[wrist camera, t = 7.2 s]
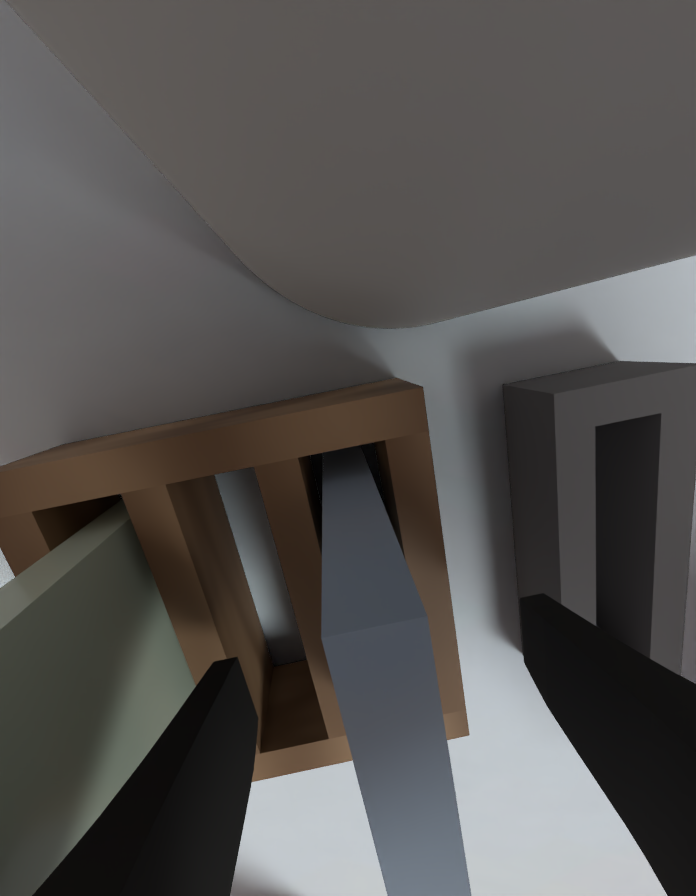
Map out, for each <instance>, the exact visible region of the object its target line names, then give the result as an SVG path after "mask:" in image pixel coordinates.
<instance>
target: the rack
mask: <svg viewBox="0 0 696 896" xmlns="http://www.w3.org/2000/svg"><path fill="white" fill-rule="evenodd" d="M373 442H374V447H375V452H376V458H377V464H378V469H379V475H380V481H381V486H382V492H383V498H384V503H385V509H386V512H387V515H388V517H389V520H390V522H391V525H392V527H393V530H394V532H395V535H396V537H397V540H398V543H399V545H400V548H401V550H402V553H403V555H404V558H405V560H406V563H407V565H408V568H409V570H410V573H411V576H412V578H413V581H414V583H415V586H416V588H417V591H418V593H419V596H420V598H421V601H422V604H423V606H424V609H425V611H426V614H427V617H428V623H429V629H430V636H431V642H432V648H433V655H434V661H435V667H436V674H437V680H438V687H439V693H440V699H441V706H442V712H443V718H444V725H445V731H446V738H447V740H450V739H454V738H459V737H463V736H468V735H469V729H468V721H467V714H466V706H465V699H464V691H463V684H462V676H461V669H460V661H459V654H458V646H457V639H456V631H455V624H454V616H453V609H452V601H451V594H450V586H449V579H448V571H447V564H446V556H445V549H444V541H443V534H442V526H441V519H440V511H439V504H438V496H437V489H436V481H435V474H434V466H433V459H432V451H431V444H430V437H429V429H428V422H427V414H426V407H425V399H424V392H423V387H421V386H419V385H416V384H413V383H410V382H407V381H404V380H401V379H399V378H393V379H388V380H383V381H378V382H373V383H368V384H363V385H358V386H353V387H348V388H343V389H338V390H333V391H328V392H323V393H318V394H313V395H308V396H303V397H298V398H293V399H288V400H283V401H278V402H273V403H268V404H263V405H258V406H253V407H248V408H243V409H238V410H233V411H228V412H223V413H218V414H213V415H208V416H203V417H198V418H193V419H188V420H183V421H178V422H173V423H168V424H163V425H158V426H153V427H148V428H143V429H138V430H133V431H128V432H123V433H118V434H113V435H108V436H103V437H98V438H93V439H88V440H83V441H78V442H73V443H68V444H63V445H60V446H57V447H54V448H51V449H48V450H46V451H43V452H40V453H37V454H34V455H32V456H29V457H26V458H23V459H20V460H17V461H15V462H12V463H9V464H6V465H3V466H0V548H1V550H2V552H3V554H4V556H5V558H6V560H7V562H8V564H9V566H10V568H11V570H12V572H13V574H14V576H15V577H16V576H18V575H19V574H20V573H22V572H23V571H25V570H26V569H27V568H29V567H30V566H31V565H33V564H34V563H35V562H37V561H38V560H40V559H41V558H42V557H44V556H45V555H46V554H48V553H49V552H51V551H52V550H53V549H55V548H56V547H57V546H59V545H60V544H61V543H63V542H64V541H66V540H67V539H68V538H70V537H71V536H72V535H74V534H75V533H77V532H78V531H79V530H81V529H82V528H83V527H85V526H86V525H87V524H89V523H90V522H92V521H93V520H94V519H96V518H97V517H98V516H100V515H101V514H103V513H104V512H105V511H107V510H108V509H109V508H111V507H112V506H114V505H115V504H116V503H118V502H119V501H120V499H119V497H118V494H121V495H122V498H123V501H124V503H125V506H126V508H127V511H128V513H129V516H130V518H131V521H132V524H133V526H134V529H135V531H136V534H137V536H138V539H139V541H140V544H141V547H142V549H143V552H144V554H145V557H146V559H147V562H148V564H149V567H150V570H151V572H152V575H153V577H154V580H155V582H156V585H157V587H158V590H159V593H160V595H161V598H162V600H163V603H164V605H165V608H166V610H167V613H168V616H169V618H170V621H171V623H172V626H173V628H174V631H175V633H176V636H177V639H178V641H179V644H180V646H181V649H182V651H183V654H184V656H185V659H186V662H187V664H188V667H189V669H190V672H191V674H192V677H193V679H194V682H195V685H197V684H198V683H199V681H200V680H201V678H202V677H203V676H204V674H205V673H206V671H207V670H208V669H209V667H210V666H211V664H212V663H213V662H214V661H219V660H224V659H228V658H233V657H238V659H239V662H240V665H241V668H242V671H243V674H244V677H245V680H246V683H247V686H248V689H249V692H250V695H251V698H252V701H253V704H254V706H255V709H256V712H257V715H258V718H259V719H258V731H257V743H256V753H255V763H254V771H253V777H252V782H254V781H259V780H264V779H268V778H273V777H278V776H282V775H287V774H292V773H296V772H301V771H305V770H310V769H315V768H319V767H324V766H329V765H333V764H338V763H343V762H347V761H352V760H353V759H352V755H351V751H350V747H349V743H348V740H347V736H346V732H345V728H344V724H343V720H342V716H341V713H340V709H339V705H338V701H337V697H336V693H335V689H334V685H333V682H332V678H331V674H330V670H329V666H328V662H327V658H326V654H325V651H324V647H323V643H322V639H321V616H322V505H321V500H320V496H319V492H318V487H317V483H316V479H315V474H314V470H313V466H312V461H311V457H310V455H313V454H318V453H323V452H328V451H333V450H338V449H343V448H348V447H353V446H358V445H363V444H368V443H373ZM249 467H254V469H255V473H256V477H257V480H258V484H259V488H260V491H261V495H262V498H263V502H264V506H265V509H266V513H267V516H268V520H269V524H270V527H271V531H272V535H273V538H274V542H275V545H276V549H277V553H278V556H279V560H280V563H281V567H282V571H283V574H284V578H285V581H286V585H287V589H288V592H289V596H290V600H291V603H292V607H293V610H294V614H295V618H296V621H297V625H298V628H299V632H300V636H301V639H302V643H303V647H304V650H305V654H306V657H307V660H304V661H299V662H294V663H290V664H285V665H280V666H275V667H274V666H273V663H272V659H271V656H270V653H269V650H268V646H267V643H266V640H265V637H264V634H263V630H262V627H261V624H260V621H259V617H258V614H257V611H256V608H255V605H254V601H253V598H252V595H251V592H250V588H249V585H248V582H247V579H246V576H245V572H244V569H243V566H242V563H241V559H240V556H239V553H238V550H237V547H236V543H235V540H234V537H233V534H232V530H231V527H230V524H229V521H228V518H227V514H226V511H225V508H224V505H223V501H222V498H221V495H220V492H219V489H218V485H217V482H216V479H215V476H214V475H215V474H220V473H225V472H230V471H234V470H239V469H244V468H249Z"/></svg>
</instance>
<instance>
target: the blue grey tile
mask: <svg viewBox="0 0 696 896" xmlns="http://www.w3.org/2000/svg"><path fill="white" fill-rule="evenodd" d="M321 639H322V643H323V647H324V651H325V654H326V658H327V662H328V666H329V670H330V674H331V678H332V682H333V685H334V689H335V693H336V697H337V701H338V705H339V709H340V713H341V716H342V720H343V724H344V728H345V732H346V736H347V740H348V743H349V747H350V751H351V755H352V759H353V763H354V767H355V771H356V774H357V778H358V782H359V786H360V790H361V794H362V798H363V802H364V805H365V809H366V813H367V817H368V821H369V825H370V829H371V832H372V836H373V840H374V844H375V848H376V852H377V856H378V860H379V863H380V867H381V871H382V875H383V879H384V883H385V887H386V891H387V894H388V896H471V890H470V884H469V878H468V871H467V865H466V859H465V852H464V846H463V839H462V833H461V827H460V820H459V814H458V808H457V801H456V795H455V788H454V782H453V776H452V769H451V763H450V757H449V750H448V744H447V738H446V731H445V725H444V718H443V712H442V706H441V699H440V693H439V687H438V680H437V674H436V667H435V661H434V655H433V648H432V642H431V636H430V629H429V623H428V617H427V614H426V611H425V609H424V606H423V604H422V601H421V598H420V596H419V593H418V591H417V588H416V586H415V583H414V581H413V578H412V576H411V573H410V570H409V568H408V565H407V563H406V560H405V558H404V555H403V553H402V550H401V548H400V545H399V543H398V540H397V537H396V535H395V532H394V530H393V527H392V525H391V522H390V520H389V517H388V515H387V512H386V510H385V507H384V504H383V502H382V499H381V497H380V494H379V492H378V489H377V487H376V484H375V482H374V479H373V476H372V474H371V471H370V469H369V466H368V464H367V461H366V459H365V456H364V454H363V451H362V449H361V446H360V445H358V446H353V447H348V448H343V449H338V450H333V451H328V452H323V487H322V616H321Z"/></svg>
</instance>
